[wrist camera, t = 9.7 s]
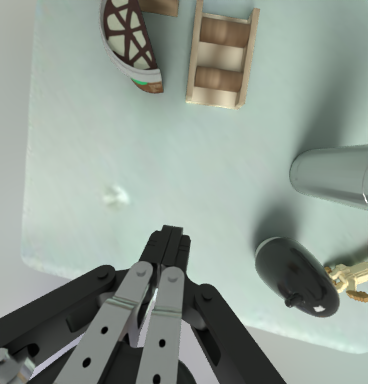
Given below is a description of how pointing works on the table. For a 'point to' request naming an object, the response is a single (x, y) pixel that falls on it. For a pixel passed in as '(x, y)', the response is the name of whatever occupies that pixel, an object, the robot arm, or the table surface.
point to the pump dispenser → (296, 277)
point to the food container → (129, 43)
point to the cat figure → (350, 279)
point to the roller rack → (220, 59)
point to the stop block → (160, 6)
